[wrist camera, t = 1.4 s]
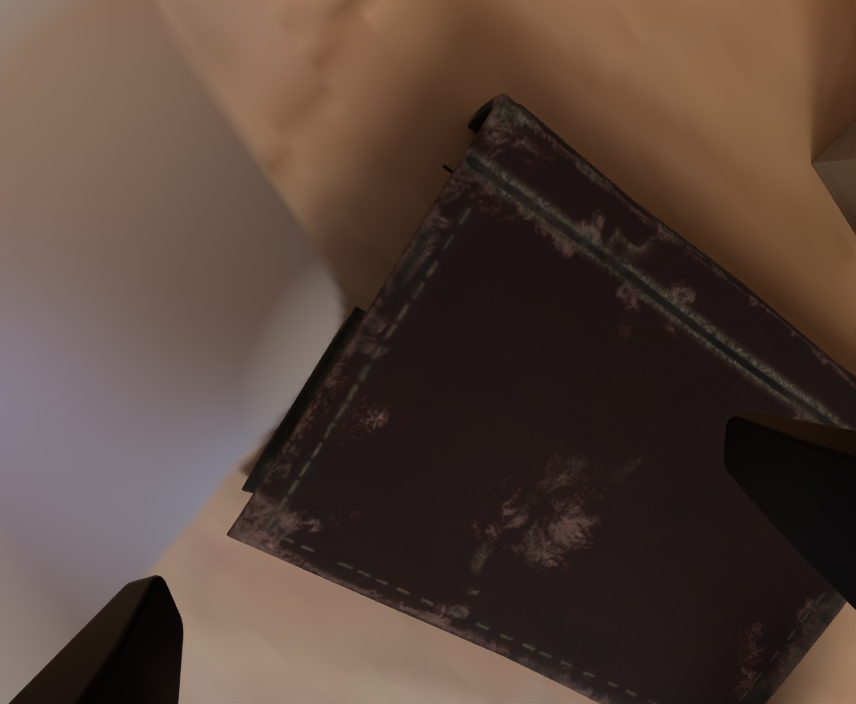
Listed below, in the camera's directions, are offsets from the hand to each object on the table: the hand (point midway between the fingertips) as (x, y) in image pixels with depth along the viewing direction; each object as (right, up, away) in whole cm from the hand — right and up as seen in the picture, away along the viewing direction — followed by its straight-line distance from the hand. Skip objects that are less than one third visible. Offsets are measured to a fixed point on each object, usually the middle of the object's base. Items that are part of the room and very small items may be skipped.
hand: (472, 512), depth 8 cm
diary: (+6, -2, +17) cm, 18 cm away
